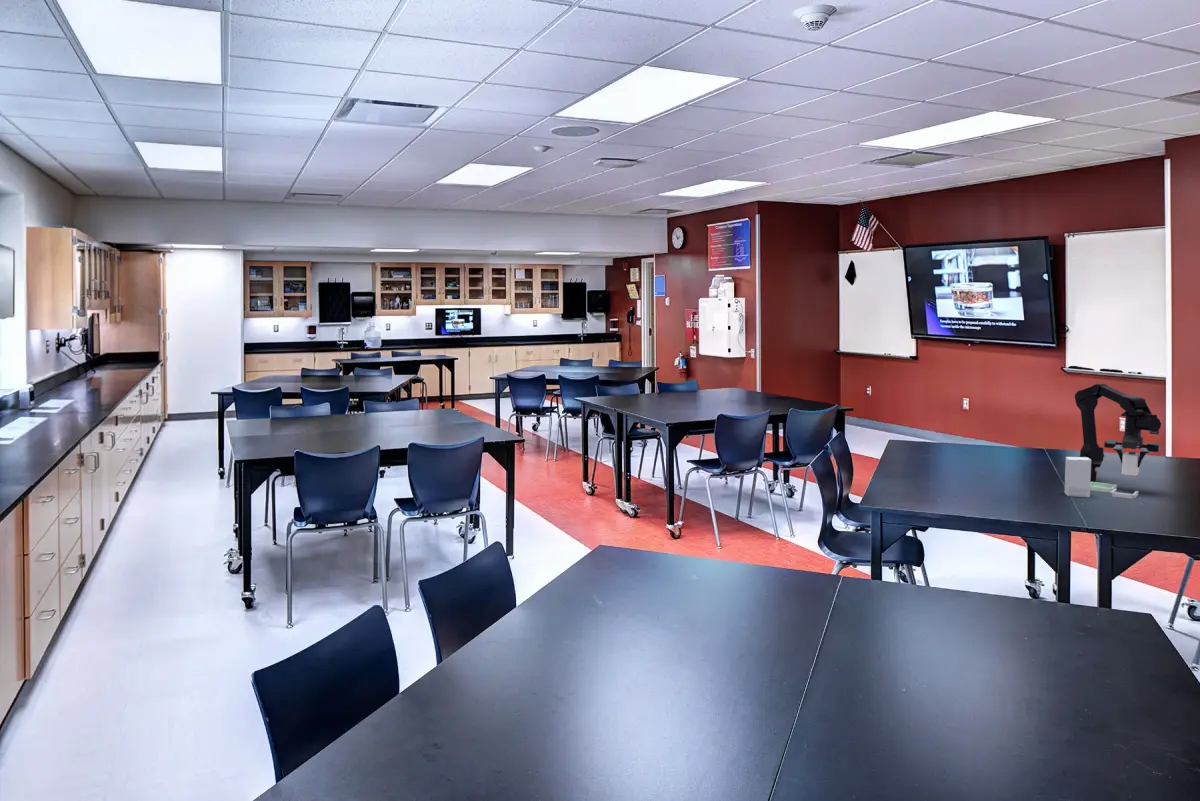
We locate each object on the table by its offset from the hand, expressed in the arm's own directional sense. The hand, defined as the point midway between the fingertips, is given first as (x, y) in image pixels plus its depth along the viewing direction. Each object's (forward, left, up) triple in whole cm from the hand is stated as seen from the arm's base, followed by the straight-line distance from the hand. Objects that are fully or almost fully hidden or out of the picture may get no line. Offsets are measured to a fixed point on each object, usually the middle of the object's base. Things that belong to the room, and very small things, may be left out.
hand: (1130, 466), depth 340 cm
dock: (0, -11, -11) cm, 15 cm away
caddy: (0, 0, -3) cm, 3 cm away
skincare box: (-15, -22, -11) cm, 29 cm away
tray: (-9, -4, -11) cm, 14 cm away
